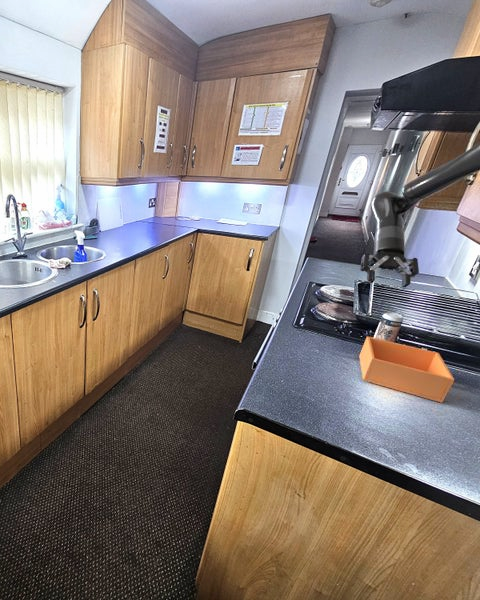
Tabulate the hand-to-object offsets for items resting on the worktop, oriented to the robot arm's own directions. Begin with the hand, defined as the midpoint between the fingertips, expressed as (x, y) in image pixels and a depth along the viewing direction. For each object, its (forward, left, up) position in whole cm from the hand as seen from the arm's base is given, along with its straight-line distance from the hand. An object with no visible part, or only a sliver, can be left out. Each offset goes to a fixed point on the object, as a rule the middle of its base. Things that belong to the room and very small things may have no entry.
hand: (388, 284), depth 106 cm
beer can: (-2, +11, -18) cm, 22 cm away
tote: (-4, +28, -18) cm, 34 cm away
